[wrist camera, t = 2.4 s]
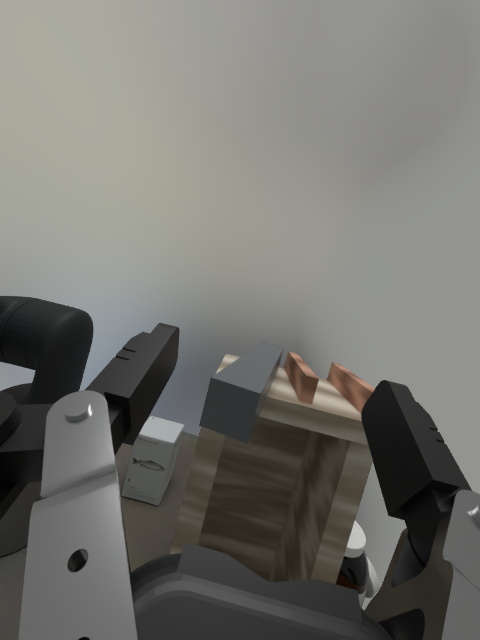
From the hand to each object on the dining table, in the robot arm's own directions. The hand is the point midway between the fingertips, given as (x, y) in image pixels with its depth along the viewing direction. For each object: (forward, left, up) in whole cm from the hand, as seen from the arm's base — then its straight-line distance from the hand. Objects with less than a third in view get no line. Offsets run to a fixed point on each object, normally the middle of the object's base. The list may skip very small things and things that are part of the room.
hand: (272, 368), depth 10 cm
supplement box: (-3, +39, -38) cm, 54 cm away
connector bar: (+4, +14, -5) cm, 16 cm away
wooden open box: (+9, +17, -37) cm, 42 cm away
